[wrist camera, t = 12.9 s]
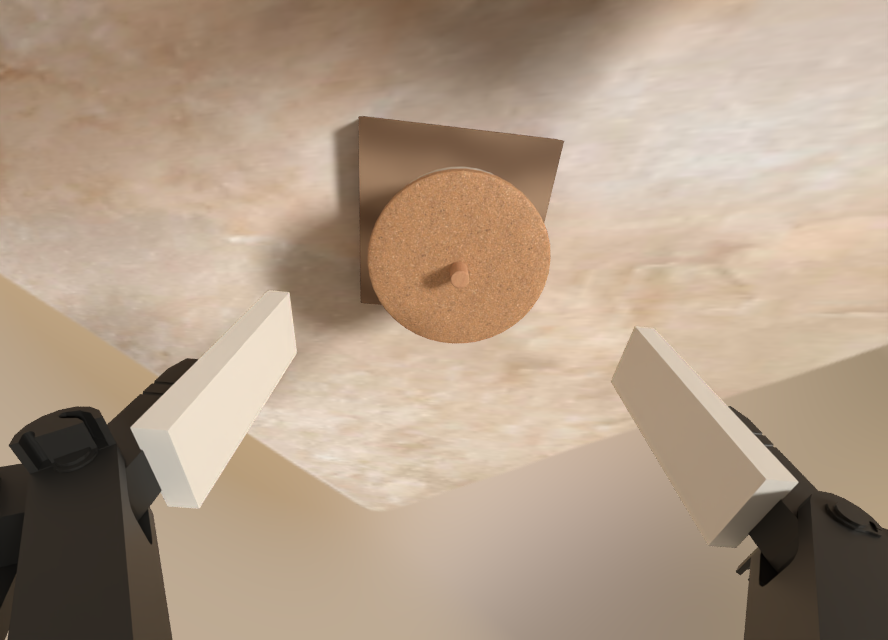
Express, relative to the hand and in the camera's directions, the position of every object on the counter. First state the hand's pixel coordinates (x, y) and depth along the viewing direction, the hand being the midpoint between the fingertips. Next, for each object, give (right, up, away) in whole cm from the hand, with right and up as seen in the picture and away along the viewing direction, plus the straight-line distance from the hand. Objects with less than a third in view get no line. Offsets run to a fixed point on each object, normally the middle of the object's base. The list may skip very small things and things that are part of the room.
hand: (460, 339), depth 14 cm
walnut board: (0, +9, +15) cm, 18 cm away
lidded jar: (0, +8, +14) cm, 16 cm away
